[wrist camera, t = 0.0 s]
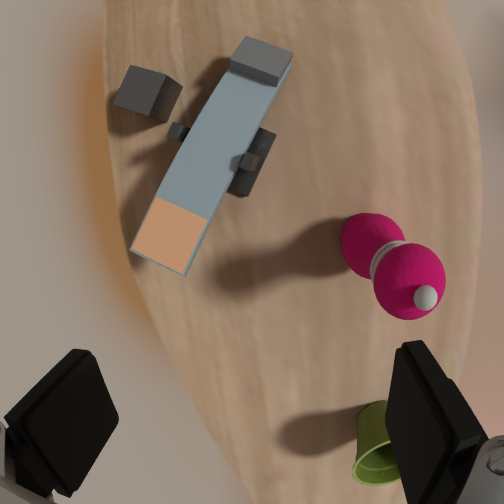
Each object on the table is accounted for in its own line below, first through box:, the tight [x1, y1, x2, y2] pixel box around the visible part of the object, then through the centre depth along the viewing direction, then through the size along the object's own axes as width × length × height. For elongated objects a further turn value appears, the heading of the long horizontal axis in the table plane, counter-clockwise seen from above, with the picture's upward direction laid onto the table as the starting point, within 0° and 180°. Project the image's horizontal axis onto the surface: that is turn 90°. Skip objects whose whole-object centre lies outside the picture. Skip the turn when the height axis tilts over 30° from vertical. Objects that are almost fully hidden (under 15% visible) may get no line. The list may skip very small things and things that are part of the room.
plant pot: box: [352, 401, 401, 486], centre depth 40 cm, size 12×12×11 cm
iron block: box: [113, 65, 183, 122], centre depth 33 cm, size 5×5×6 cm
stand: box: [167, 105, 276, 197], centre depth 33 cm, size 8×10×8 cm
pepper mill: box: [341, 213, 446, 320], centre depth 29 cm, size 7×7×20 cm
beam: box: [130, 36, 293, 277], centre depth 30 cm, size 26×6×4 cm, turn 155°
